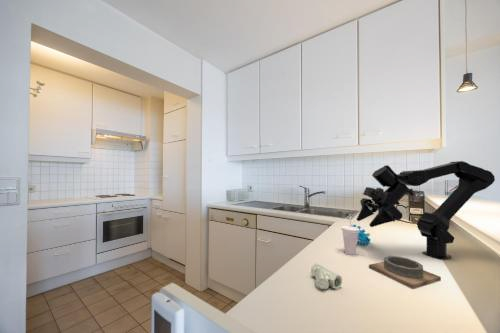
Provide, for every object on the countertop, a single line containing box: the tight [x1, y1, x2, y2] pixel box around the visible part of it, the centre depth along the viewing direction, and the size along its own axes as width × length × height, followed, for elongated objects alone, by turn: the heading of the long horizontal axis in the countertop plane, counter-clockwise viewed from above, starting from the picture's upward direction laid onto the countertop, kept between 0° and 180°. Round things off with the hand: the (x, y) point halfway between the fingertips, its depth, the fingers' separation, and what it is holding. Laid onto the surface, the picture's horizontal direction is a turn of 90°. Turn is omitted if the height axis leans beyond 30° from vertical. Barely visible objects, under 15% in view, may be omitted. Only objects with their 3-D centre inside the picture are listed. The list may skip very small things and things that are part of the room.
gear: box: [351, 224, 371, 247], centre depth 93 cm, size 11×6×10 cm
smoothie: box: [341, 216, 359, 256], centre depth 80 cm, size 6×6×14 cm
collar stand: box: [368, 255, 442, 290], centre depth 64 cm, size 13×13×4 cm
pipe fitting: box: [310, 263, 343, 290], centre depth 57 cm, size 8×4×7 cm
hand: (363, 223), depth 80 cm, fingers open, 9 cm apart
